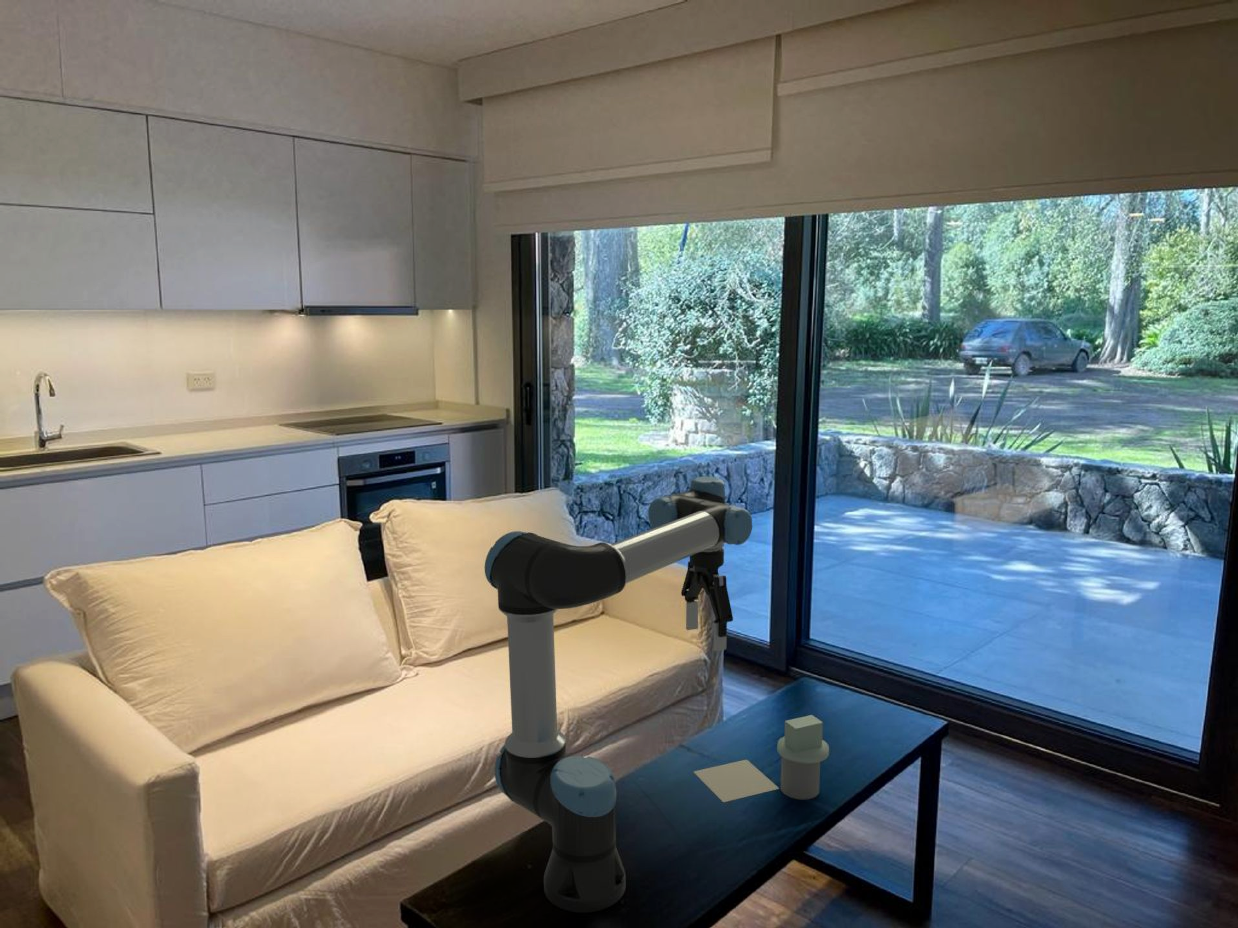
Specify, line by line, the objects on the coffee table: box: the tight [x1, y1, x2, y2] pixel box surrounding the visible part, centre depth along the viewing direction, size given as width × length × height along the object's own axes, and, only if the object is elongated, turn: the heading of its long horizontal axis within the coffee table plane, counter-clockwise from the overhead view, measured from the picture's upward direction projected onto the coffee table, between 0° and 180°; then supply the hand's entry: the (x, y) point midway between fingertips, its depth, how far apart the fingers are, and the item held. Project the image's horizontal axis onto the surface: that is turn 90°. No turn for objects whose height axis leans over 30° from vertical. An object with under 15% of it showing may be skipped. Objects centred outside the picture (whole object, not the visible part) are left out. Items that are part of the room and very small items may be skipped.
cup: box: [780, 756, 821, 800], centre depth 203 cm, size 8×8×10 cm
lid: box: [776, 714, 830, 764], centre depth 201 cm, size 11×11×7 cm
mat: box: [693, 759, 780, 803], centre depth 208 cm, size 14×14×1 cm
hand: (705, 639), depth 208 cm, fingers open, 13 cm apart
